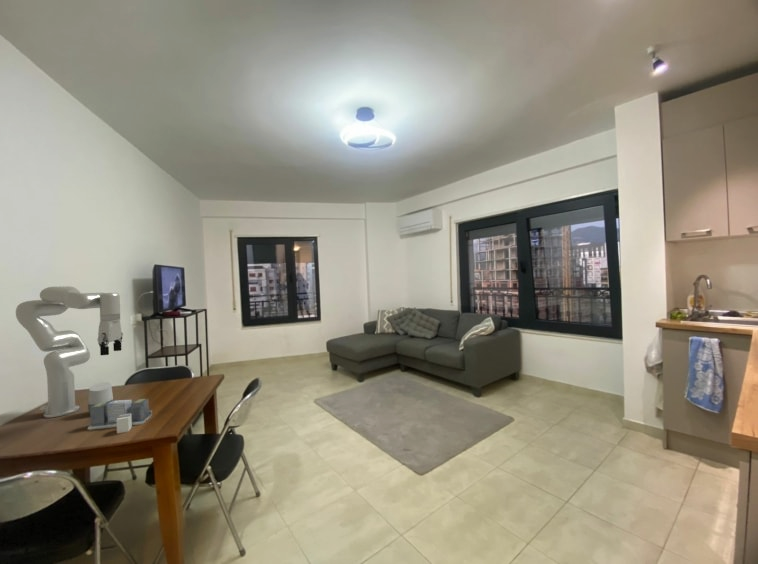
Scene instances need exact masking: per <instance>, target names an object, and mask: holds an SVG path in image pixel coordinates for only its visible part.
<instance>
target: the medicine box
mask: <svg viewBox="0 0 758 564" xmlns="http://www.w3.org/2000/svg"><path fill="white" fill-rule="evenodd" d="M131 403H133V401H132V399H121V400H120V399H119V400H118V399H117V400H113V402H111V403H109V404H107V412H108V423H112V422H117V418H118V416H120V415H125V414H131Z"/></svg>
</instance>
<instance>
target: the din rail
mask: <svg viewBox="0 0 758 564" xmlns="http://www.w3.org/2000/svg"><path fill="white" fill-rule="evenodd" d="M149 402H150V401H149V398H138V399H135V400H134V401H132V403H131V419H132V426H137V425H138V426H139V425H143V424H144V423H145V422H147V421H148V420H149V419H150V418H152V417H153V410H150V405H149V404H150V403H149ZM107 404H109V403H106V402H104V403H99V404H95V405H93V406H92V407H90V413H89V414H90V415H89V417H90V425H89V426H88V427H87V431H91V430H99V429H101V430H102V429H109V428H117V422H112V423H108V412H107ZM151 416H152V417H151ZM146 420H147V421H146Z"/></svg>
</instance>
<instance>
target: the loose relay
mask: <svg viewBox="0 0 758 564" xmlns="http://www.w3.org/2000/svg"><path fill="white" fill-rule="evenodd" d="M132 427H133V425H132V419H131V414H125V415H120V416H118V418H117V427H116V434H122V433H128V432H130V430H131V429H132Z"/></svg>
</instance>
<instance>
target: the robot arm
mask: <svg viewBox="0 0 758 564" xmlns="http://www.w3.org/2000/svg"><path fill="white" fill-rule="evenodd" d="M39 298H40V299H34V300H27V301H23V302H21V303H19V304H18V305H17V306H16V309H15V317H16V319H17V322H18V323H19V324H20V325H21V326H22V327H23V328H24V329H25V330H26V331H27V332H28V334H29V335H30V337H31V338H32V340H33V341H34V343H35V345H36V346H37V347H38V348H39V350H40V351H41V352H44V353H47V354H46V355H45V356H44V358H43V366H44V368H45V371H46V378H47V379H46V380H47V382H46V383H47V384H46V385H47V405H41V407H40V408H39V412H44V414H43V417H44V418H47V419H49V418H56V417H57V418H58V417H61V416H66V415H69V414H72V413H75V412H77V411H79V410H80V405H76V395H75V394H76V393H75V391H76V390H75V389H76V388H75V387H76V386H75V374H74V373H73V371H72V370H71V369H70V368H71V367H75V366H79V365H82V364H85V363H87V362H88V361H89V360H90V359H91V353H90V350H89V348H88V347H87V345H86V343H85V342H84V340H83V339H82V338H81V336H80V335H79V334H78V333H77V332H76V331H74V330H69V329H67V330H59V331H58V330H56V329H55V328H54V326H53V325H52V324H51V323H50V321H48V320H46V319H44V318H42V317H49V316H57V315H58V316H59V315H61V314H63V313H64V312H66V311H67V310H68V309H74V310H75V309H77V310H87V309H99V325H98V334H97V335H98V338H97V343H98V346H99V350H100V351H99V353H100V354H99V355H100V356H108V355H109V354H110V351H109V349H110V347H109V343H110V342H113V351H114V352H118V351H119V352H120V351H122V342H123V336H124V333H123V332H122V326H121V325H122V324H121V300H120V299H121V298H120V294H119V293H118V292H85V293H84V292H83V293H82V292H80V291H79V289H78V288H76V287H74V286H70V285H69V286H68V285H67V286H49V287H46V288H45V287H44V288H43V289H42V290H41V291H40V292H39Z"/></svg>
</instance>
